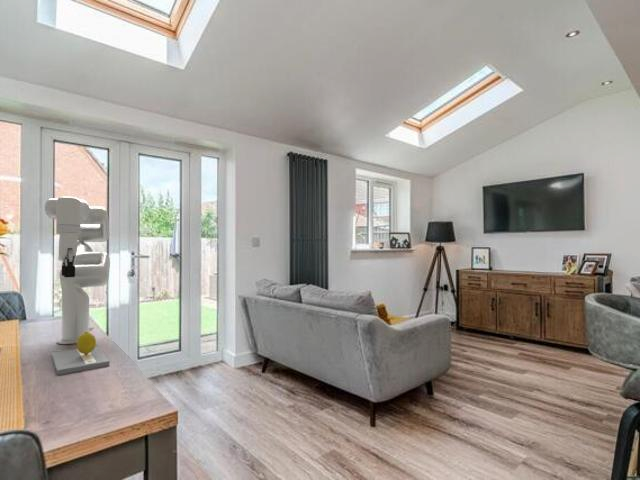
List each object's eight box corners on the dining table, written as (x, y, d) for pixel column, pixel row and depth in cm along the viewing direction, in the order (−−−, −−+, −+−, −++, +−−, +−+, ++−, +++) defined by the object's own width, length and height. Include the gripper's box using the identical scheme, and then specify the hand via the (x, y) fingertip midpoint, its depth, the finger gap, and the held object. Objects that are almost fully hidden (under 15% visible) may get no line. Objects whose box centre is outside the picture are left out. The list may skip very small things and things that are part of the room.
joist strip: (77, 349, 134) (77, 349, 134) (86, 348, 136) (86, 347, 136) (85, 364, 117) (85, 363, 117) (96, 362, 119) (96, 361, 119)
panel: (51, 356, 130) (51, 352, 130) (97, 349, 139) (97, 345, 139) (57, 375, 111) (57, 370, 111) (109, 365, 120) (109, 361, 120)
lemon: (99, 353, 128) (99, 331, 128) (83, 358, 123) (83, 334, 123) (89, 351, 130) (89, 329, 130) (73, 356, 125) (73, 332, 125)
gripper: (54, 230, 140) (53, 275, 140) (58, 229, 127) (57, 278, 126) (77, 231, 145) (77, 274, 144) (83, 229, 131) (83, 277, 131)
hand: (68, 276), depth 135 cm, fingers open, 9 cm apart
